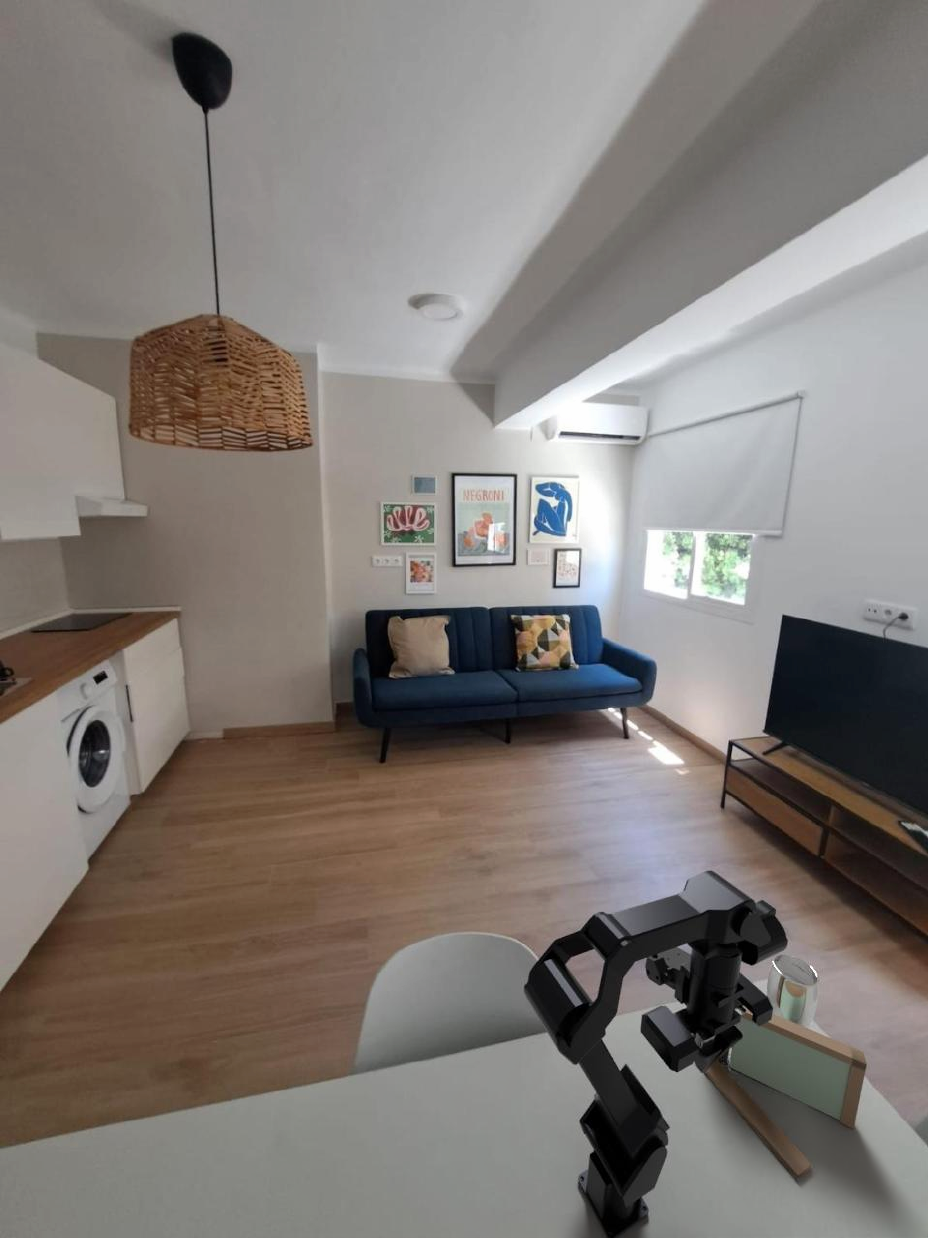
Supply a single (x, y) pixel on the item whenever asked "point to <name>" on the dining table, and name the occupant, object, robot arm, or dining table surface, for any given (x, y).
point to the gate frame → (758, 1119)
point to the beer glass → (793, 989)
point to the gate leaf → (801, 1065)
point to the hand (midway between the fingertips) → (700, 1068)
